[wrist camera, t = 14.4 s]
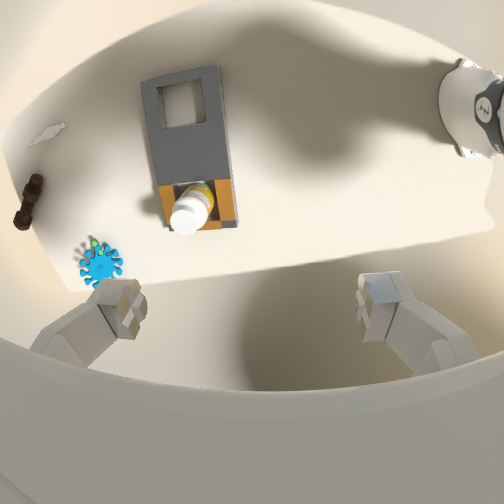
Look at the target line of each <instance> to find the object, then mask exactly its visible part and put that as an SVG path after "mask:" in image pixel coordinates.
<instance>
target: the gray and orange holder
mask: <svg viewBox="0 0 504 504" xmlns="http://www.w3.org/2000/svg"><path fill="white" fill-rule="evenodd" d="M198 79H201V82H202V90H203V98H204V106H205V114H206V122H201V123H194V124H188V125H182V126H176V127H171V128H167V123H166V117H165V110H164V103H163V96H162V89H161V87H165V86H169V85H174V84H178V83H183V82H188V81H193V80H198ZM141 90H142V97H143V104H144V110H145V117H146V123H147V129H148V134H149V140H150V145H151V151H152V156H153V161H154V166H155V171H156V175H157V180H158V185H159V186H158V188H159V193H160V197H161V201H162V206H163V210H164V214H165V218H166V222H167V225H168V227H169V231H174V230H173V229H172V227H171V224H170V218H171V215H172V208H173V206H174V204H175V202H176V201H177V200H178V199H179V197H180V195H179V190H178V185H177V183H185V182H194V181H204V180H214V179H215V180H214V182H215V189H216V195H217V202H218V208H219V214H220V215H214V216H209V217H208V219H207V221H206V222H205V224H204V225H203V226H202V227H201V228H200V229H197V230H214V229H222V228H236V227H237V226H238V214H237V206H236V198H235V190H234V182H233V174H232V166H231V158H230V150H229V141H228V133H227V125H226V116H225V107H224V99H223V90H222V81H221V72H220V67H219V66H211V67H205V68H199V69H194V70H189V71H184V72H180V73H175V74H171V75H167V76H163V77H159V78H155V79H152V80H148V81H145V82H141Z"/></svg>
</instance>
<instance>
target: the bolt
mask: <svg viewBox="0 0 504 504" xmlns="http://www.w3.org/2000/svg"><path fill="white" fill-rule="evenodd" d="M42 182H43V179H42V177H41V176H40V175H39V174H33V175H32V176H31V178H30V181H29V183H28V184H26V186H25V188H24V191H23V194H22V195H23V197H24V199H23V202H22V205H21V209H20V211H17V212H16V215H15V218H14V221H13V223H14V225H15V226H16V228H17V229H19V230H28V229H29V228H30V225H31V222H32V219H33V218H32V217H31V216H30V214H31V211H32V208H33V206H34V203H35V202H36V201H37V200H38V198H39V195H40V193H41V189H40V186H41V184H42Z"/></svg>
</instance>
